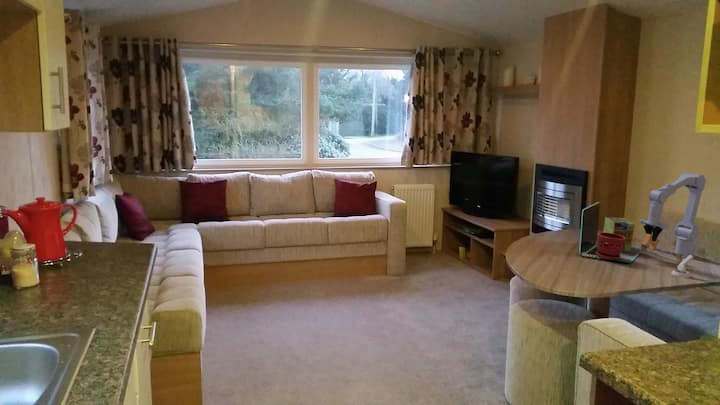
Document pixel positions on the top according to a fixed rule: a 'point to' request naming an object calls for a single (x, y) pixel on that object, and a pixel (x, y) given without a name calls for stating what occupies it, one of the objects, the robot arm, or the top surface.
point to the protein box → (620, 229)
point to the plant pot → (610, 245)
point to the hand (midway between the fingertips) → (651, 240)
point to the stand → (661, 257)
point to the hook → (682, 268)
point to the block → (649, 240)
